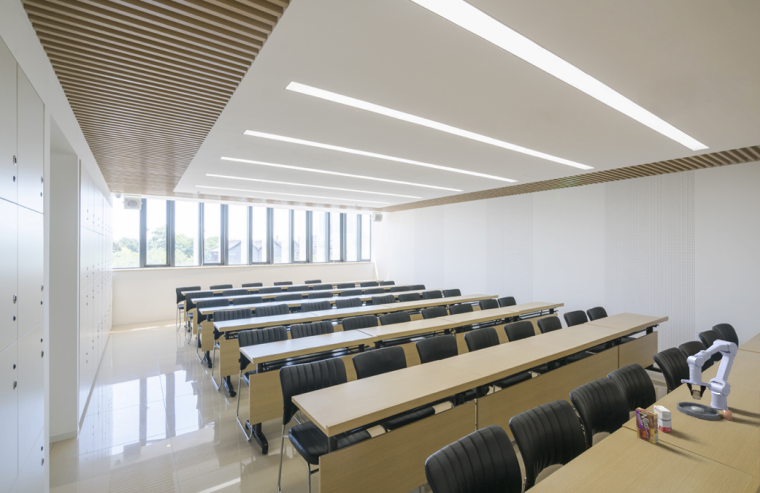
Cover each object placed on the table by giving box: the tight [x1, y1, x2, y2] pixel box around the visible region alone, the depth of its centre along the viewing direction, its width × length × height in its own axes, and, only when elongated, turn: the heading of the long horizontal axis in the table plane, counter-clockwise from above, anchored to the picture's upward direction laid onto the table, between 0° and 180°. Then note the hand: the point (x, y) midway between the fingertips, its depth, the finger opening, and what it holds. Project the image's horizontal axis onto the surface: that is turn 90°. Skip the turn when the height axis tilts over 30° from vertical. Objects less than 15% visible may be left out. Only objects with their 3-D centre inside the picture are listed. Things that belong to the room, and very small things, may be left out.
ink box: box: [653, 404, 673, 433], centre depth 198 cm, size 9×5×12 cm, turn 168°
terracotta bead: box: [722, 409, 733, 422], centre depth 209 cm, size 4×4×5 cm
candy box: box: [635, 407, 659, 445], centre depth 187 cm, size 9×4×15 cm, turn 26°
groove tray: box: [676, 401, 721, 421], centre depth 218 cm, size 20×20×3 cm
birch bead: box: [691, 389, 702, 401], centre depth 223 cm, size 4×4×5 cm
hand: (696, 396), depth 223 cm, fingers closed on birch bead, 4 cm apart
